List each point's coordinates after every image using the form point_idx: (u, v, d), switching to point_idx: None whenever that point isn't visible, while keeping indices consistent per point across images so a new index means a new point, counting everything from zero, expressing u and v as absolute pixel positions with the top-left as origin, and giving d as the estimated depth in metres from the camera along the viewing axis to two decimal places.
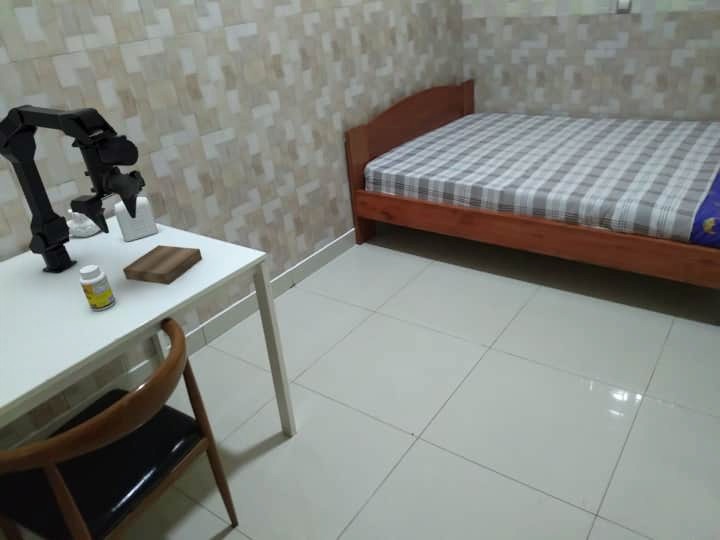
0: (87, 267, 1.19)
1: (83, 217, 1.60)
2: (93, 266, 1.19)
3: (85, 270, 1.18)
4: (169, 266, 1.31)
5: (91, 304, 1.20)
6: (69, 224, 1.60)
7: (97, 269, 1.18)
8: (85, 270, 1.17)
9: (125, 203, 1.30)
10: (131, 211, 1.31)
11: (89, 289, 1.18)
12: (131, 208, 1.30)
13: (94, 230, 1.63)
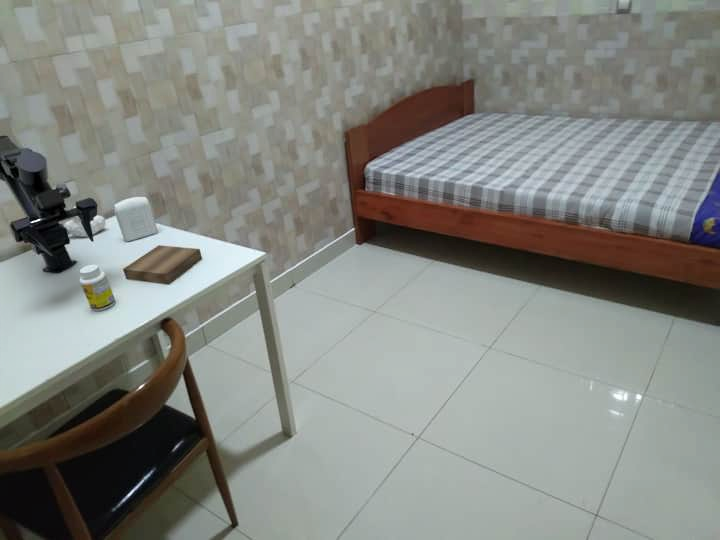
0: (87, 267, 1.19)
1: None
2: (93, 266, 1.19)
3: (85, 270, 1.18)
4: (169, 266, 1.31)
5: (91, 304, 1.20)
6: (69, 224, 1.60)
7: (97, 269, 1.18)
8: (85, 270, 1.17)
9: (85, 230, 1.26)
10: (88, 234, 1.25)
11: (89, 289, 1.18)
12: (87, 231, 1.24)
13: (94, 230, 1.63)
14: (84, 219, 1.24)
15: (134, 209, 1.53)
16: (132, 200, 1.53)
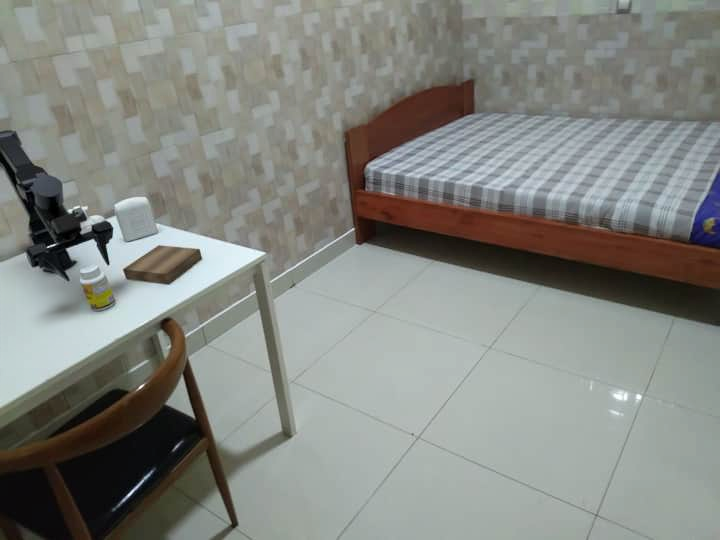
0: (87, 267, 1.19)
1: None
2: (93, 266, 1.19)
3: (85, 270, 1.18)
4: (169, 266, 1.31)
5: (91, 304, 1.20)
6: None
7: (97, 269, 1.18)
8: (85, 270, 1.17)
9: (101, 253, 1.24)
10: (104, 258, 1.23)
11: (89, 289, 1.18)
12: (103, 255, 1.22)
13: None
14: (100, 243, 1.22)
15: (134, 210, 1.53)
16: (132, 200, 1.53)
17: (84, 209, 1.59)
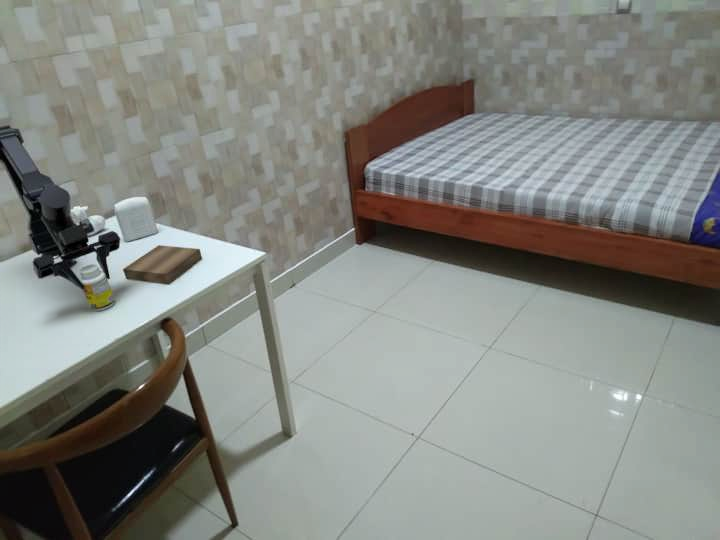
0: (87, 267, 1.19)
1: (83, 217, 1.60)
2: (93, 266, 1.19)
3: (85, 270, 1.18)
4: (169, 266, 1.31)
5: (91, 304, 1.20)
6: None
7: (97, 269, 1.18)
8: (85, 270, 1.17)
9: (101, 267, 1.22)
10: (104, 272, 1.21)
11: (89, 289, 1.18)
12: (103, 268, 1.21)
13: (94, 230, 1.63)
14: (100, 256, 1.21)
15: (134, 209, 1.53)
16: (132, 200, 1.53)
17: (84, 209, 1.59)
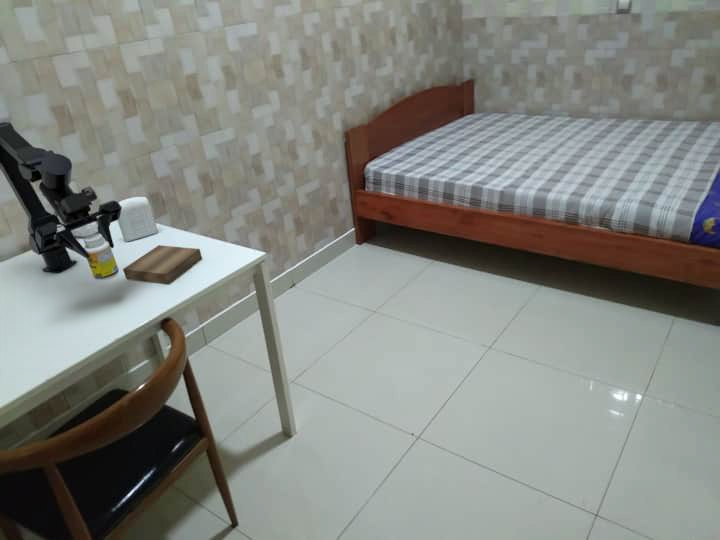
0: (90, 236, 1.18)
1: None
2: (97, 235, 1.18)
3: (89, 238, 1.16)
4: (169, 266, 1.31)
5: (96, 274, 1.19)
6: None
7: (101, 237, 1.17)
8: (90, 239, 1.16)
9: (103, 236, 1.21)
10: (107, 241, 1.20)
11: (94, 257, 1.17)
12: (106, 237, 1.20)
13: (94, 230, 1.63)
14: (103, 225, 1.20)
15: (134, 209, 1.53)
16: (132, 200, 1.53)
17: None
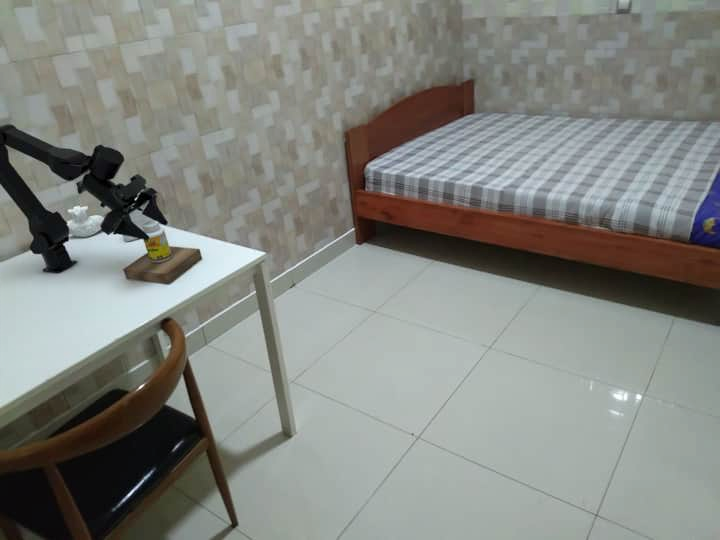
0: (147, 223, 1.31)
1: (83, 217, 1.60)
2: (152, 221, 1.32)
3: (149, 225, 1.30)
4: (169, 266, 1.31)
5: (157, 256, 1.33)
6: (69, 224, 1.60)
7: None
8: (150, 225, 1.30)
9: (152, 217, 1.36)
10: (160, 219, 1.35)
11: (157, 240, 1.31)
12: (159, 216, 1.35)
13: (94, 230, 1.63)
14: (154, 206, 1.34)
15: None
16: None
17: (84, 209, 1.59)
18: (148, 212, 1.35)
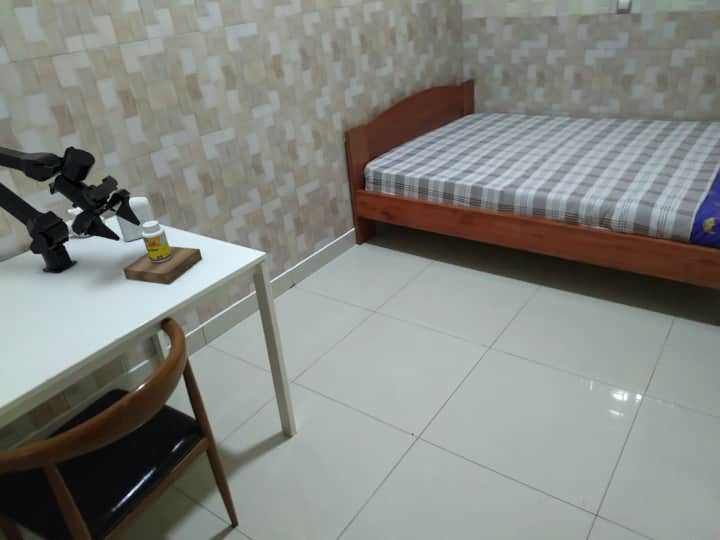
0: (147, 223, 1.31)
1: None
2: (152, 221, 1.32)
3: (149, 225, 1.30)
4: (169, 266, 1.31)
5: (157, 256, 1.33)
6: (69, 224, 1.60)
7: None
8: (150, 225, 1.30)
9: (125, 218, 1.38)
10: (133, 220, 1.37)
11: (157, 240, 1.31)
12: (131, 217, 1.37)
13: None
14: (126, 207, 1.36)
15: (134, 209, 1.53)
16: (132, 200, 1.53)
17: None
18: (121, 213, 1.37)
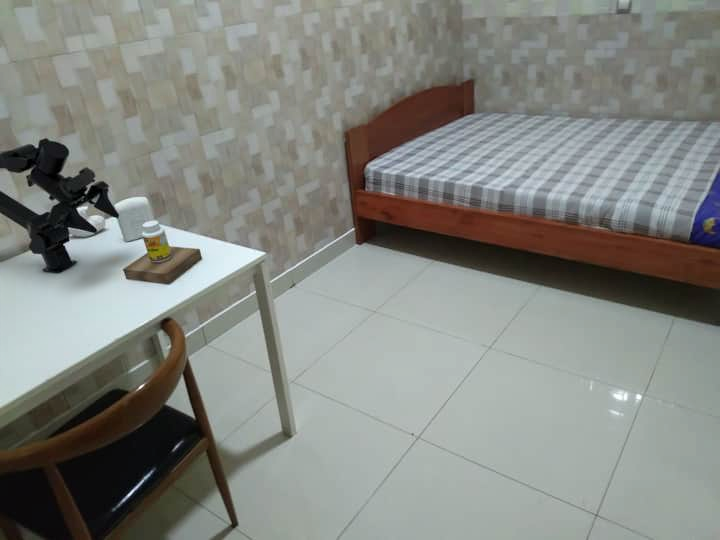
0: (147, 223, 1.31)
1: (83, 217, 1.60)
2: (152, 221, 1.32)
3: (149, 224, 1.30)
4: (169, 266, 1.31)
5: (157, 256, 1.33)
6: None
7: None
8: (150, 224, 1.30)
9: (104, 210, 1.37)
10: (112, 212, 1.36)
11: (157, 240, 1.31)
12: (110, 209, 1.36)
13: None
14: (105, 199, 1.35)
15: (134, 210, 1.53)
16: (132, 200, 1.53)
17: (84, 209, 1.59)
18: (99, 205, 1.36)
